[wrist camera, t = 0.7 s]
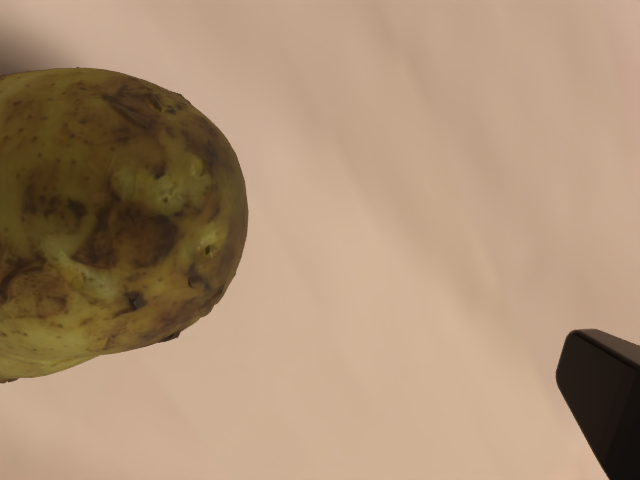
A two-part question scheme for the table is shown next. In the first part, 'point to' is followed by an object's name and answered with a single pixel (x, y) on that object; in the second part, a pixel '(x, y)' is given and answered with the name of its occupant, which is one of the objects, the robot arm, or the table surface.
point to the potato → (108, 217)
